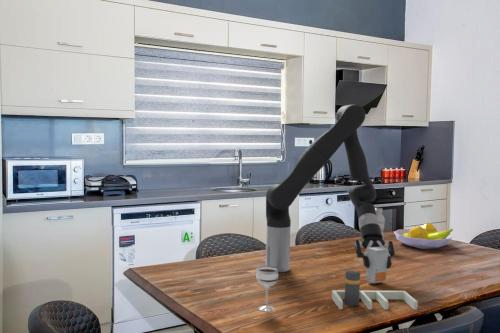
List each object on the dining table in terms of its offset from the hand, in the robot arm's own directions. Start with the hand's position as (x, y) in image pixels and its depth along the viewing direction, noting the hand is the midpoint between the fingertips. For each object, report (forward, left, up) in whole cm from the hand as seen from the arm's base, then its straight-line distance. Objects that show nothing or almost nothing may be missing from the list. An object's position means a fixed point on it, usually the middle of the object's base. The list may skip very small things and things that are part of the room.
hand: (378, 267), depth 165 cm
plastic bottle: (+16, +50, -7) cm, 53 cm away
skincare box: (0, +2, -6) cm, 6 cm away
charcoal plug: (-15, -20, -6) cm, 25 cm away
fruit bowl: (+43, +61, -7) cm, 75 cm away
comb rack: (-8, -20, -6) cm, 22 cm away
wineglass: (-42, -24, -7) cm, 48 cm away
